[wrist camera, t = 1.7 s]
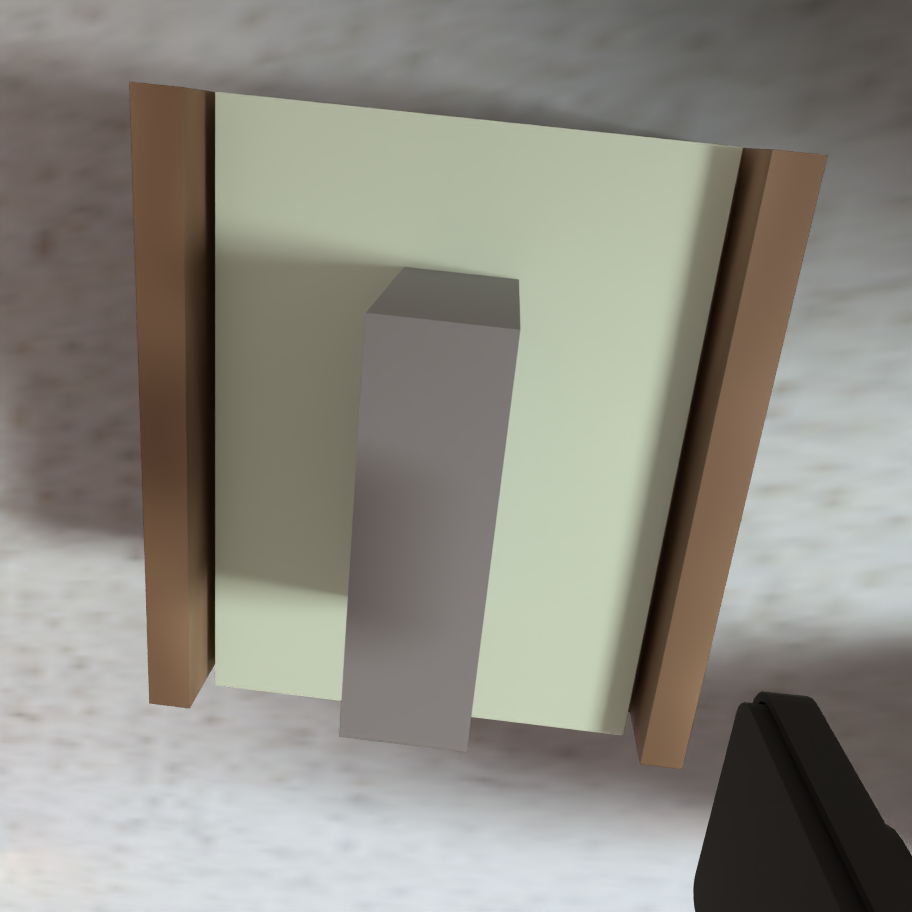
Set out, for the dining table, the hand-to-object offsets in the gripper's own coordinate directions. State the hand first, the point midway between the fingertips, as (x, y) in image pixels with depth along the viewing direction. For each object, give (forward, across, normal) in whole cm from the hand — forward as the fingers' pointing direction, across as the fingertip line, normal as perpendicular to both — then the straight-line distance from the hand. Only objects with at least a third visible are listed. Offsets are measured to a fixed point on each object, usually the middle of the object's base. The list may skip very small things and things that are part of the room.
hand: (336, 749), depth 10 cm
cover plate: (+11, -1, 0) cm, 11 cm away
